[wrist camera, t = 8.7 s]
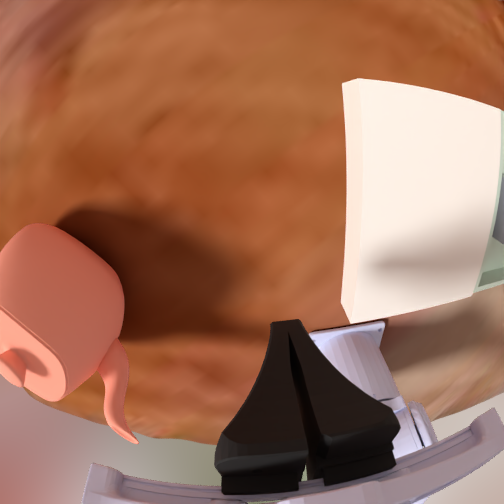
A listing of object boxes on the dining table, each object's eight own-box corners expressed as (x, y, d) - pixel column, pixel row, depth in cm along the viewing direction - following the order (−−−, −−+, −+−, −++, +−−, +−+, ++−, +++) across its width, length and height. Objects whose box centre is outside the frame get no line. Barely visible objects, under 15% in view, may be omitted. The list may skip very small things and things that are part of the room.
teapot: (141, 370, 28) (115, 462, 17) (4, 275, 22) (-56, 341, 11) (200, 298, 23) (177, 427, 12) (23, 174, 17) (-78, 229, 6)
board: (456, 280, 24) (471, 296, 21) (340, 302, 24) (350, 323, 21) (478, 106, 15) (500, 109, 13) (341, 83, 16) (358, 78, 13)
